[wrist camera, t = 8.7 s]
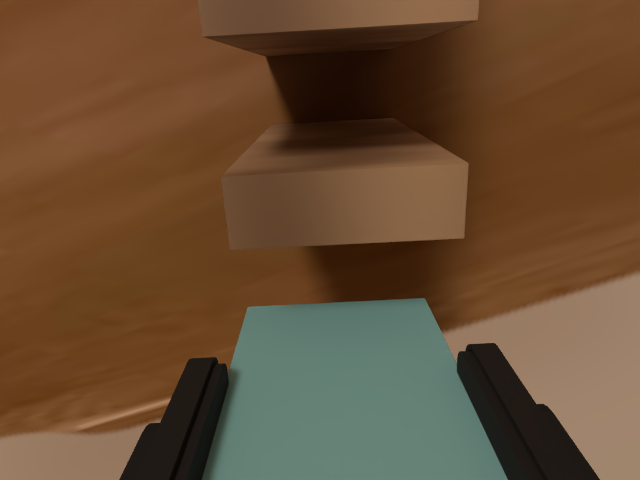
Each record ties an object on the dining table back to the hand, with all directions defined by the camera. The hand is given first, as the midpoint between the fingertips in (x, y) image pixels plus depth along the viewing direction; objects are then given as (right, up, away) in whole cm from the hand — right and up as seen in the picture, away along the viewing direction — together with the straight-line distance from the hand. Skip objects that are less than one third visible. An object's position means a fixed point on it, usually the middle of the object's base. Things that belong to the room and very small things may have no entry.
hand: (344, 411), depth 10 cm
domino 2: (0, +8, +9) cm, 12 cm away
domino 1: (0, +12, +7) cm, 14 cm away
